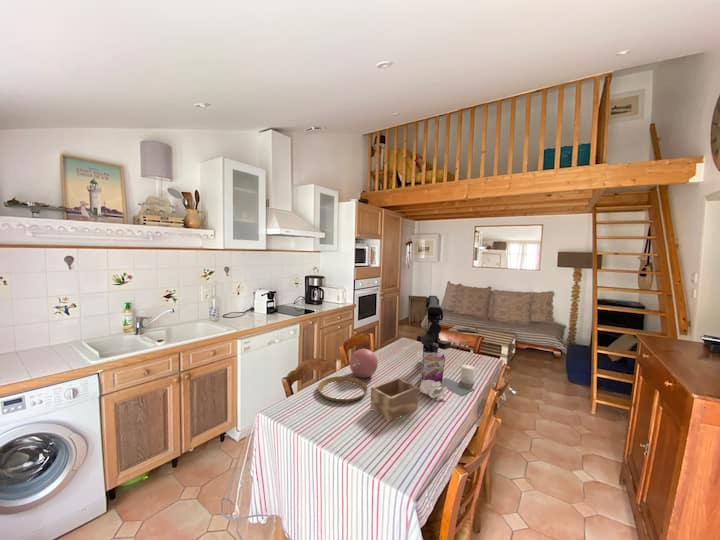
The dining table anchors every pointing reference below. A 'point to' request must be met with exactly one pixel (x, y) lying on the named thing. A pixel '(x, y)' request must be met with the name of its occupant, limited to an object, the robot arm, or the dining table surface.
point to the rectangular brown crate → (394, 398)
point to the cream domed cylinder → (467, 374)
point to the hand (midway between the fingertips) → (432, 357)
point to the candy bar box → (432, 366)
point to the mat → (455, 387)
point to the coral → (432, 389)
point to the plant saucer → (342, 378)
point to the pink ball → (363, 363)
